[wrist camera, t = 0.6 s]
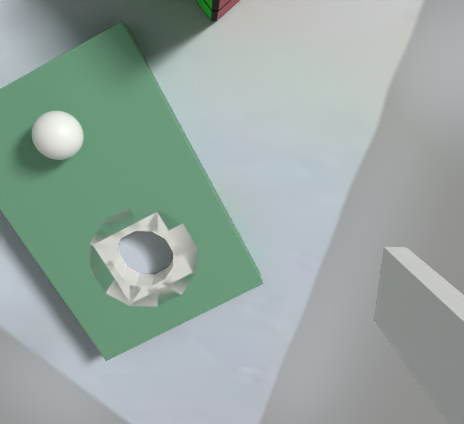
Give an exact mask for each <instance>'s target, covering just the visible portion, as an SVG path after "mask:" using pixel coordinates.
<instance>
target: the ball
mask: <svg viewBox="0 0 464 424" xmlns="http://www.w3.org/2000/svg"><path fill="white" fill-rule="evenodd" d="M32 140H33V143H34V145H35V147H36V148H37V150H38V151H39V152H40V153H42V154H43V155H44V156H46V157H48V158H51V159H56V160H63V159H67V158H70V157H72V156H74V155H75V154H76V153H77V152H78V151H79V150H80V148H81V146H82V144H83V140H84V134H83V129H82V127H81V125H80V123H79V122H78V121H77V119H76V118H74V117H73V116H72V115H70V114H68V113H66V112H63V111H49V112H46V113H44V114H42V115H41V116H40V117H38V118H37V120H36V121H35V123H34V125H33V127H32Z"/></svg>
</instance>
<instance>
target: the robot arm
mask: <svg viewBox="0 0 464 424" xmlns="http://www.w3.org/2000/svg"><path fill="white" fill-rule="evenodd" d="M374 321H375V322H376V323H377V325H378V326H379V328H380V329H381V330H382V332H383V333H384V335H385V336H386V337H387V339H388V340H389V342H390V343H391V345H392V346H393V347H394V349H395V350H396V351H397V353H398V354H399V356H400V357H401V358H402V360H403V362H404V363H405V364H406V366H407V367H408V368H409V370H410V371H411V373H412V374H413V375H414V377H415V378H416V380H417V381H418V383H419V384H420V385H421V387H422V388H423V390H424V391H425V393H426V394H427V395H428V397H429V398H430V400H431V401H432V402H433V404H434V405H435V407H436V408H437V409H438V411H439V412H440V414H441V415H442V416H443V418H444V419H445V421H446V422H447V423H448V424H464V295H463V294H462V293H460V292H459V291H458V290H457V289H456V288H454V287H453V286H452V285H451V284H450V283H448V282H447V281H446V280H445V279H444V278H442V277H441V276H440V275H439V274H438V273H436V272H435V271H434V270H433V269H432V268H430V267H429V266H428V265H427V264H426V263H424V262H423V261H422V260H421V259H420V258H418V257H417V256H416V255H415V254H414V253H412V252H411V251H410V250H409V249H407V248H406V247H384V250H383V257H382V265H381V272H380V279H379V286H378V294H377V301H376V309H375V315H374Z"/></svg>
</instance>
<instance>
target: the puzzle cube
mask: <svg viewBox="0 0 464 424" xmlns="http://www.w3.org/2000/svg"><path fill="white" fill-rule="evenodd" d="M239 1H240V0H196V2H197V3H198V4H199V5H200V7H201V8H202V9H203V11H204V12H205V13H206V14H207V16H208V17H209V18H210V20H212V21H217V20H218V19H220V18H221V17H222V16H223V15H224V14H225V13H226V12H227V11H229V10H230V9H231V8H232V7H233V6H234V5H235V4H236V3H238V2H239Z"/></svg>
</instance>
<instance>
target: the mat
mask: <svg viewBox="0 0 464 424" xmlns="http://www.w3.org/2000/svg"><path fill="white" fill-rule="evenodd" d="M49 111H63V112H66V113H68V114H70V115H72V116H73V117H74V118H76V119H77V121H78V122H79V123H80V125H81V127H82V129H83V134H84V140H83V144H82V146H81V148H80V150H79V151H78V152H77V153H76V154H75V155H74V156H72V157H70V158H67V159H63V160H56V159H51V158H48V157H46V156H44V155H43V154H42V153H40V152H39V151H38V150H37V148H36V147H35V145H34V143H33V140H32V127H33V125H34V123H35V121H36V120H37V118H38V117H40V116H41V115H42V114H44V113H46V112H49ZM0 210H1V212H2V213H3V214H4V216H5V217H6V219H7V220H8V222H9V223H10V224H11V226H12V227H13V229H14V230H15V232H16V233H17V234H18V236H19V237H20V239H21V240H22V242H23V243H24V244H25V246H26V247H27V249H28V250H29V252H30V253H31V254H32V256H33V257H34V259H35V260H36V262H37V263H38V264H39V266H40V267H41V269H42V270H43V272H44V273H45V274H46V276H47V277H48V279H49V280H50V282H51V283H52V284H53V286H54V287H55V289H56V290H57V292H58V293H59V294H60V296H61V297H62V299H63V300H64V302H65V303H66V304H67V306H68V307H69V309H70V310H71V312H72V313H73V314H74V316H75V317H76V319H77V320H78V321H79V323H80V324H81V326H82V327H83V329H84V330H85V331H86V333H87V334H88V336H89V337H90V339H91V340H92V341H93V343H94V344H95V346H96V347H97V349H98V350H99V351H100V353H101V354H102V356H103V357H104V359H105V360H106V361H107V360H109V359H111V358H113V357H115V356H117V355H119V354H121V353H123V352H125V351H127V350H129V349H131V348H133V347H135V346H137V345H139V344H141V343H143V342H145V341H147V340H149V339H152V338H154V337H156V336H158V335H160V334H162V333H164V332H166V331H168V330H170V329H172V328H174V327H176V326H178V325H180V324H182V323H184V322H186V321H188V320H190V319H192V318H194V317H196V316H198V315H200V314H202V313H204V312H206V311H208V310H210V309H212V308H214V307H217V306H219V305H221V304H223V303H225V302H227V301H229V300H231V299H233V298H235V297H237V296H239V295H241V294H243V293H245V292H247V291H249V290H251V289H253V288H255V287H257V286H259V285H261V284H263V282H262V279H261V275H260V272H259V270H258V268H257V266H256V265H255V263H254V261H253V259H252V257H251V255H250V253H249V252H248V250H247V248H246V246H245V244H244V242H243V240H242V239H241V237H240V235H239V233H238V231H237V229H236V227H235V226H234V224H233V222H232V220H231V218H230V216H229V214H228V213H227V211H226V209H225V207H224V205H223V203H222V202H221V200H220V198H219V196H218V194H217V192H216V190H215V189H214V187H213V185H212V183H211V181H210V179H209V177H208V176H207V174H206V172H205V170H204V168H203V166H202V164H201V163H200V161H199V159H198V157H197V155H196V153H195V151H194V150H193V148H192V146H191V144H190V142H189V140H188V139H187V137H186V135H185V133H184V131H183V129H182V127H181V126H180V124H179V122H178V120H177V118H176V116H175V114H174V113H173V111H172V109H171V107H170V105H169V103H168V101H167V100H166V98H165V96H164V94H163V92H162V90H161V88H160V87H159V85H158V83H157V81H156V79H155V77H154V75H153V74H152V72H151V70H150V68H149V66H148V64H147V63H146V61H145V59H144V57H143V55H142V53H141V51H140V50H139V48H138V46H137V44H136V42H135V40H134V38H133V37H132V35H131V33H130V31H129V29H128V27H127V26H126V25H125V24H123V23H122V22H120V23H118V24H116V25H114V26H113V27H111V28H109V29H107V30H105V31H104V32H102V33H100V34H98V35H96V36H95V37H93V38H91V39H89V40H87V41H86V42H84V43H82V44H80V45H79V46H77V47H75V48H73V49H71V50H70V51H68V52H66V53H64V54H62V55H61V56H59V57H57V58H55V59H53V60H52V61H50V62H48V63H46V64H44V65H43V66H41V67H39V68H37V69H36V70H34V71H32V72H30V73H28V74H27V75H25V76H23V77H21V78H19V79H18V80H16V81H14V82H12V83H10V84H9V85H7V86H5V87H3V88H1V89H0ZM134 231H152V232H154V233H155V234H157V235H159V236H161V237H162V238H164V239H166V241H167V243H168V244H169V246H170V248H171V250H172V251H173V260H172V261H171V263H170V265H169V266H168V268H166V269H164V270H162V271H160V272H158V273H156V274H140V273H138V272H136V271H134V270H132V269H130V268H129V267H127V266H126V264H125V262H124V261H123V259H122V258H121V256H120V247H119V241H120V240H121V238H123V237H125V236H126V235H128V234H130V233H132V232H134Z"/></svg>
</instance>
